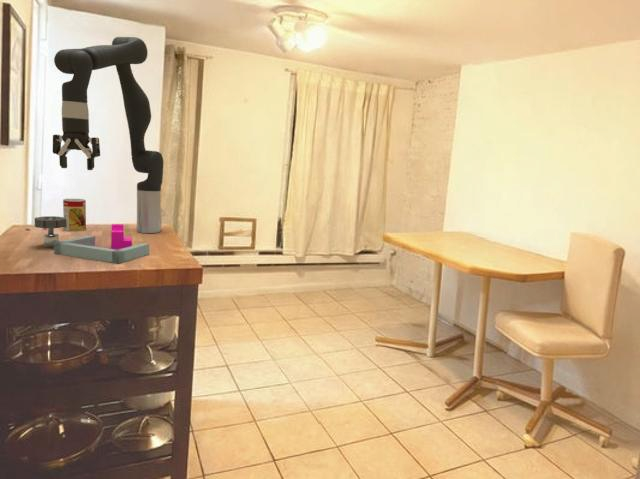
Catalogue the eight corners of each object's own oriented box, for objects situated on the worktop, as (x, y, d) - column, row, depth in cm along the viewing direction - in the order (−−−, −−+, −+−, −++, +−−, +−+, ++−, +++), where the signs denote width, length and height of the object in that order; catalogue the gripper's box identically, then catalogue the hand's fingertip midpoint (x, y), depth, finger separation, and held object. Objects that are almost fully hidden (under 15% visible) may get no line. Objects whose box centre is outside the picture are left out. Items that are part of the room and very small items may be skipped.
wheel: (50, 222, 161) (50, 215, 161) (72, 225, 159) (72, 218, 158) (28, 226, 152) (27, 218, 152) (50, 229, 150) (50, 221, 150)
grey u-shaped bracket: (88, 245, 163) (88, 235, 162) (149, 254, 157) (149, 244, 156) (54, 253, 148) (53, 242, 148) (119, 263, 142) (119, 252, 142)
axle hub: (51, 244, 160) (50, 217, 158) (61, 246, 158) (61, 218, 157) (40, 246, 155) (39, 218, 154) (51, 248, 154) (50, 220, 153)
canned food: (90, 230, 189) (89, 200, 186) (70, 232, 182) (70, 201, 180) (78, 227, 193) (78, 198, 191) (59, 228, 186) (59, 198, 184)
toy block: (131, 254, 156) (131, 232, 155) (111, 254, 154) (111, 232, 152) (130, 244, 170) (130, 224, 168) (111, 244, 167) (111, 224, 166)
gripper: (103, 119, 150) (104, 170, 154) (60, 116, 151) (62, 166, 154) (91, 118, 143) (92, 171, 146) (45, 114, 144) (48, 168, 147)
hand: (77, 169), depth 150 cm, fingers open, 8 cm apart
